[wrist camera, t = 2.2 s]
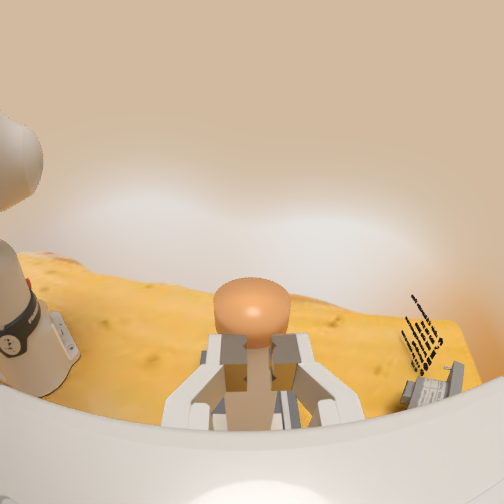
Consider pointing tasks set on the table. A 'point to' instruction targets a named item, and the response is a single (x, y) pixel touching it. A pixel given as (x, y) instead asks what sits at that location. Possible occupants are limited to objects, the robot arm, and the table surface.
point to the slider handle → (252, 349)
